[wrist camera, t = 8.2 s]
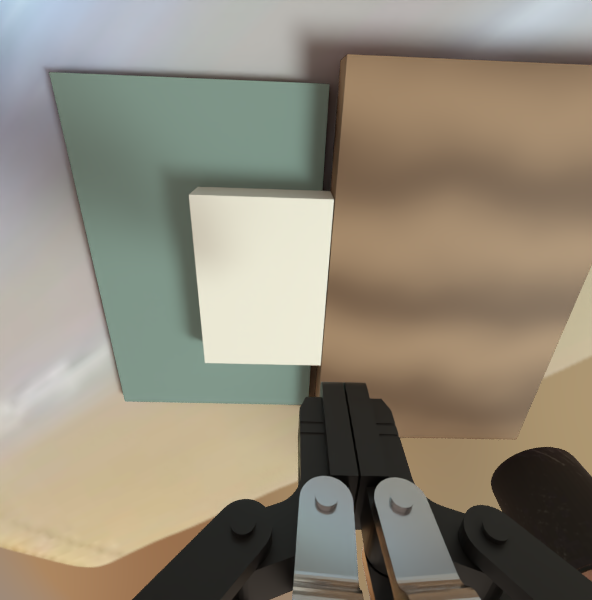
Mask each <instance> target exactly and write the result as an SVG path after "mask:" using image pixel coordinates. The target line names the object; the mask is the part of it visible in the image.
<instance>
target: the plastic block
mask: <svg viewBox="0 0 592 600" xmlns="http://www.w3.org/2000/svg"><path fill="white" fill-rule="evenodd" d="M189 203H190V213H191V224H192V234H193V244H194V255H195V265H196V275H197V286H198V296H199V307H200V317H201V327H202V338H203V348H204V359H205V363H228V364H274V365H320V366H321V354H322V342H323V329H324V317H325V304H326V292H327V280H328V267H329V255H330V243H331V230H332V218H333V206H334V198H333V196H332V194H331V192H330V191H313V190H283V189H253V188H223V187H197V188H196V189H195V190H194V191H192V192H191V193H190V194H189Z"/></svg>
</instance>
